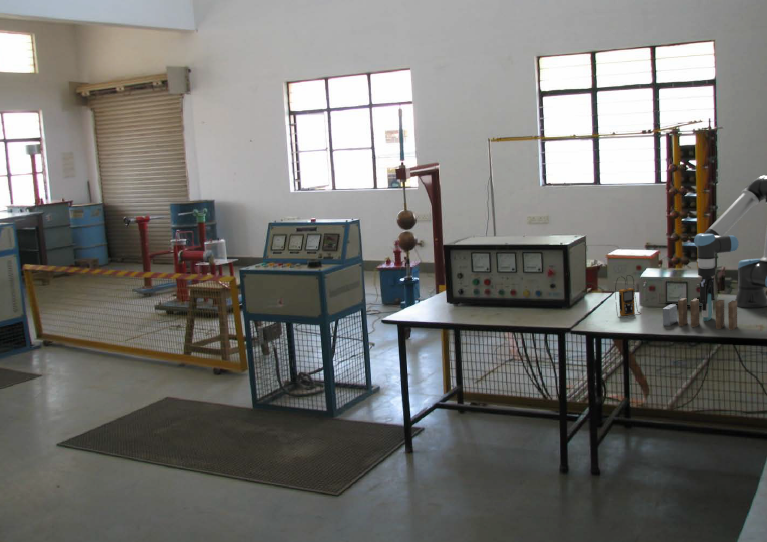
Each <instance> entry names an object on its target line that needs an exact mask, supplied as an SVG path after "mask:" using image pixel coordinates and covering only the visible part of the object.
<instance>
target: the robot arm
mask: <svg viewBox="0 0 767 542" xmlns="http://www.w3.org/2000/svg"><path fill="white" fill-rule="evenodd" d="M740 194H741V195H739V196H738V197H737V199H736V200H735V201H734V202H733V203H731V205H730V206H729V207H728V208H727V209H726V210H725V211H724V212H723V213H722V214H721V215H720V216H719V217H718V218H717V219H716V220H715V221H714V222H713V224H712V225H711V226H710V227H708V229H706V231H705V232H702V233H698V234H696V235H695V237H694V239H693V243H694V246H695V247H696V248H697V260H696V262H697V267H698V268H697V275H698V276H699V277H701V280H700V281H699V282H700V283H699V284H700V302H699V303H700V304H702V307H701V318H703V317H708V303H707V300H708V293H711V308H712V315H713V314H714V307H713V306H714V304H713V301H715V282H714V281H715V278H714V277H713V276H716V254H721V253H732V252H735V251H737V250H738V248H739V239H738V238H737V237H736V236H735V235H726V234H727V233H728V232H729V231H730V230H731V229H732V228H733V227H734V226H735V225H736V224H737V223H738V222H739V221H740V220H741V219H742V217H744V216H745V215H746V214H747V213H748V211H749V210H751V209H752V207H754V206H756V205H759V203H760V202H762V201H763V200H765V204H766V205H767V174H763V175H760V176H758V177H757V178H755V179H754V180H753V181H751V182H750V183H749V184H747V185H746V186H745V187H744V188H743V189H742V190H741V192H740ZM765 227H766V228H765V238H764V239H765V240H764V247H763V255H762V256H761V258H748V259H742V260H739V261H738V263H737V264H738V265H737V275H738V276H737V279H738V280H737V281H738V290H737V294H736V296H735V298H734V299H735V300H734V301H737V307H739V308H747V309H748V308H749V309H752V308H753V309H755V308H756V309H757V308H758V309H759V308H764V307H767V294H766V291H765V288H767V226H765ZM699 284H698V285H699ZM703 300H704V301H703Z"/></svg>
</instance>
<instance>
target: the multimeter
mask: <svg viewBox="0 0 767 542" xmlns="http://www.w3.org/2000/svg"><path fill="white" fill-rule="evenodd" d="M628 276H630V277H631V278H632V282H633V284H635V279H634V277H633V275H631V274H628V275H627V274H626V278H625V277H623V276H622V278H623V279H624V288H622V289H619V290H618V300H619V301H618V302H619V305H618V306H619V313H618V312H616V316H617V318H619V319H629V316H630V315H633V317H634V318H636V316H638V315H641V312H640V311H639V310H638V305H637V303H635V301H637V299H636V294H635V293H636V292H635V288H631V287H629V286H628V283H627V280H626V279H628ZM618 279H619V278H617V279H616V281H615V284H617V283H618ZM616 289H617V285H615V289H614V291H615V292H614V293H615V299H617V294H616V293H617V290H616ZM618 306H617V303H615V307H616V309H615V310H616V311H618ZM635 306H636V310H635ZM635 311H637V312H638V313H637V314H636V312H635ZM618 315H620V317H619V316H618ZM621 316H622V317H621Z"/></svg>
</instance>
